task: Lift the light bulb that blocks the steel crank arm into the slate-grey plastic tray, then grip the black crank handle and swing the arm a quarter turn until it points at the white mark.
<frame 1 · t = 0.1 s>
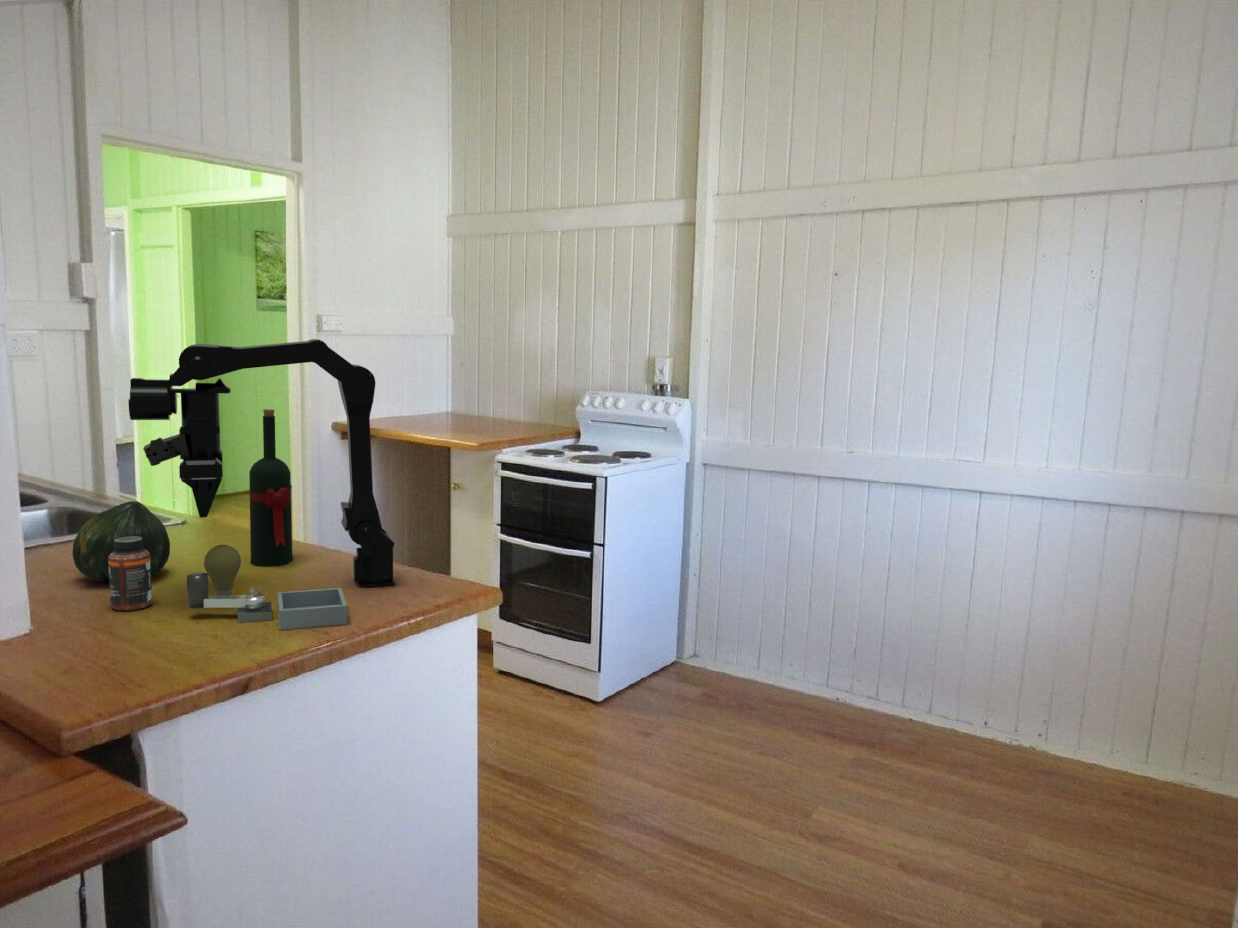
hand: (203, 511, 147), 15 cm above the counter, tool pointing down, fingers open, 9 cm apart
crank: (226, 590, 138), point 4 cm above the counter, hinge at -15.0°
supplement bottle: (131, 607, 142), on the counter
tray: (312, 616, 140), on the counter
squash: (125, 578, 157), on the counter
wine bottle: (273, 563, 171), on the counter
light bulb: (223, 604, 145), on the counter
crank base: (254, 616, 140), on the counter
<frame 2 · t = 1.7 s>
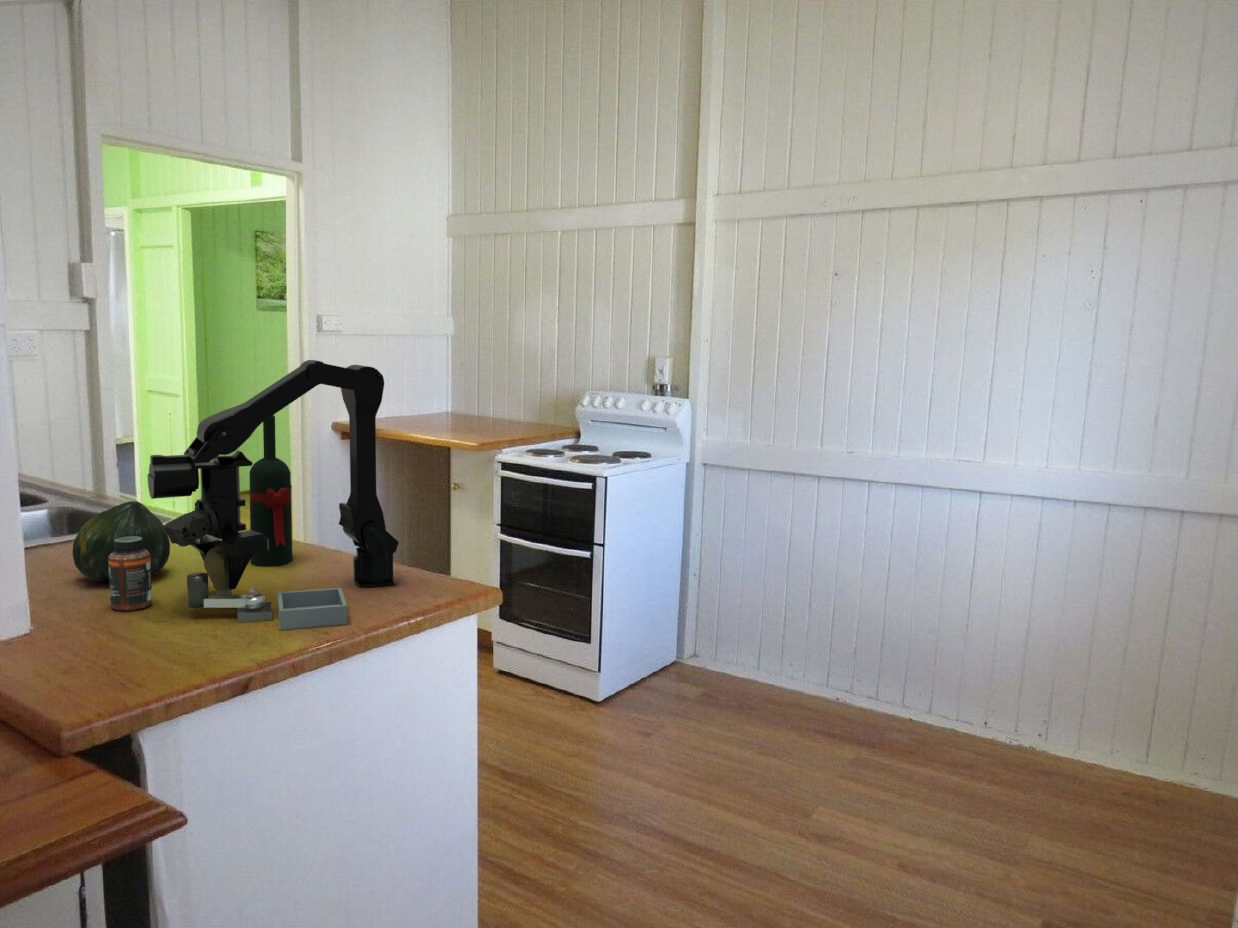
hand: (223, 585, 145), 3 cm above the counter, tool pointing down, fingers closed on light bulb, 5 cm apart
light bulb: (223, 604, 145), on the counter, touching gripper
everything else where it was.
when the fingers open (4 cm above the counter, at t = 6.4 s): light bulb drops 1 cm, resting on tray.
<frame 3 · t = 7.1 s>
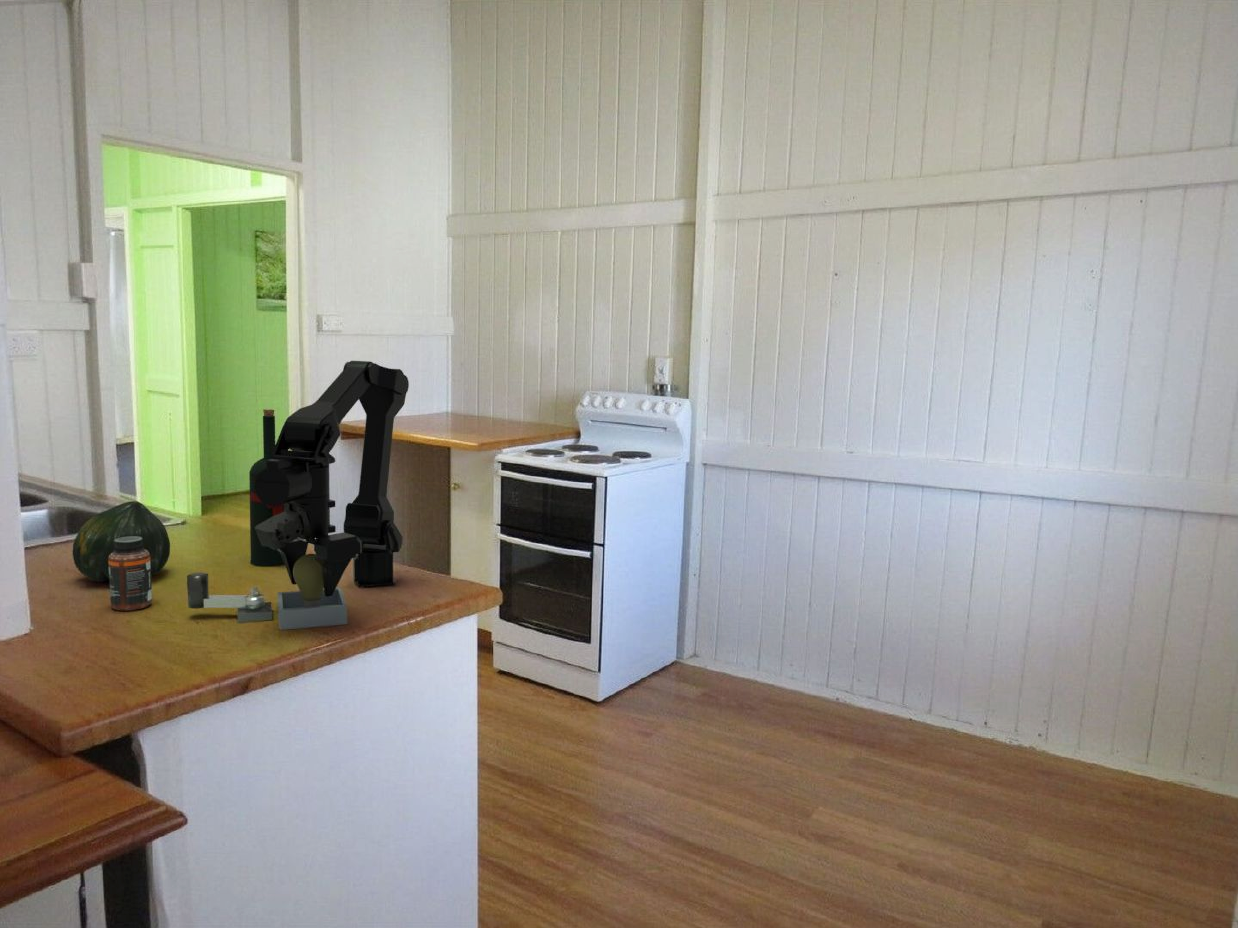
hand: (311, 589, 140), 4 cm above the counter, tool pointing down, fingers open, 9 cm apart
light bulb: (312, 615, 140), resting on tray
everything else where it was.
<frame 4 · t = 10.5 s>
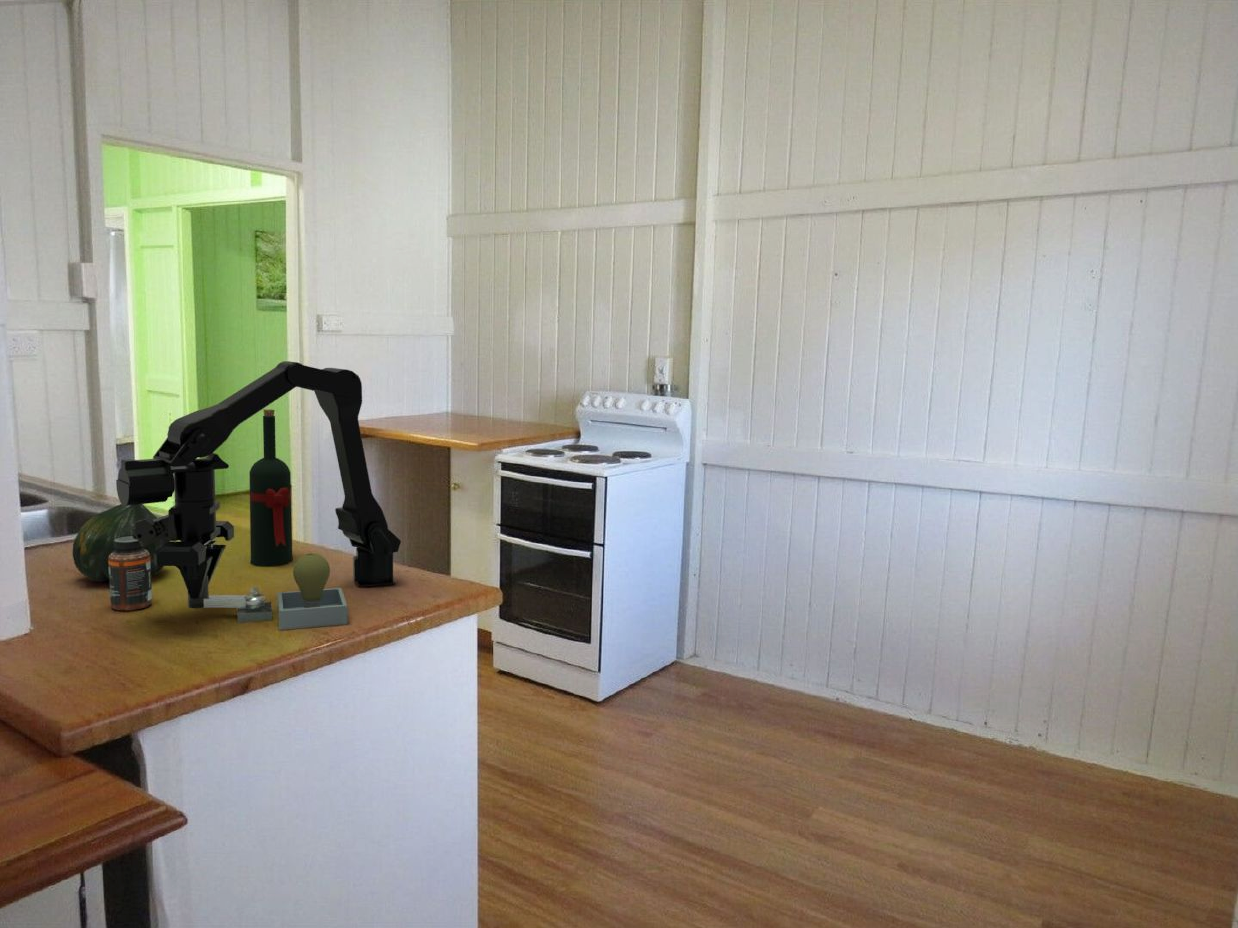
hand: (198, 595, 138), 4 cm above the counter, tool pointing down, fingers closed on crank, 3 cm apart
crank: (226, 590, 138), point 4 cm above the counter, hinge at -15.0°, touching gripper
everything else where it was.
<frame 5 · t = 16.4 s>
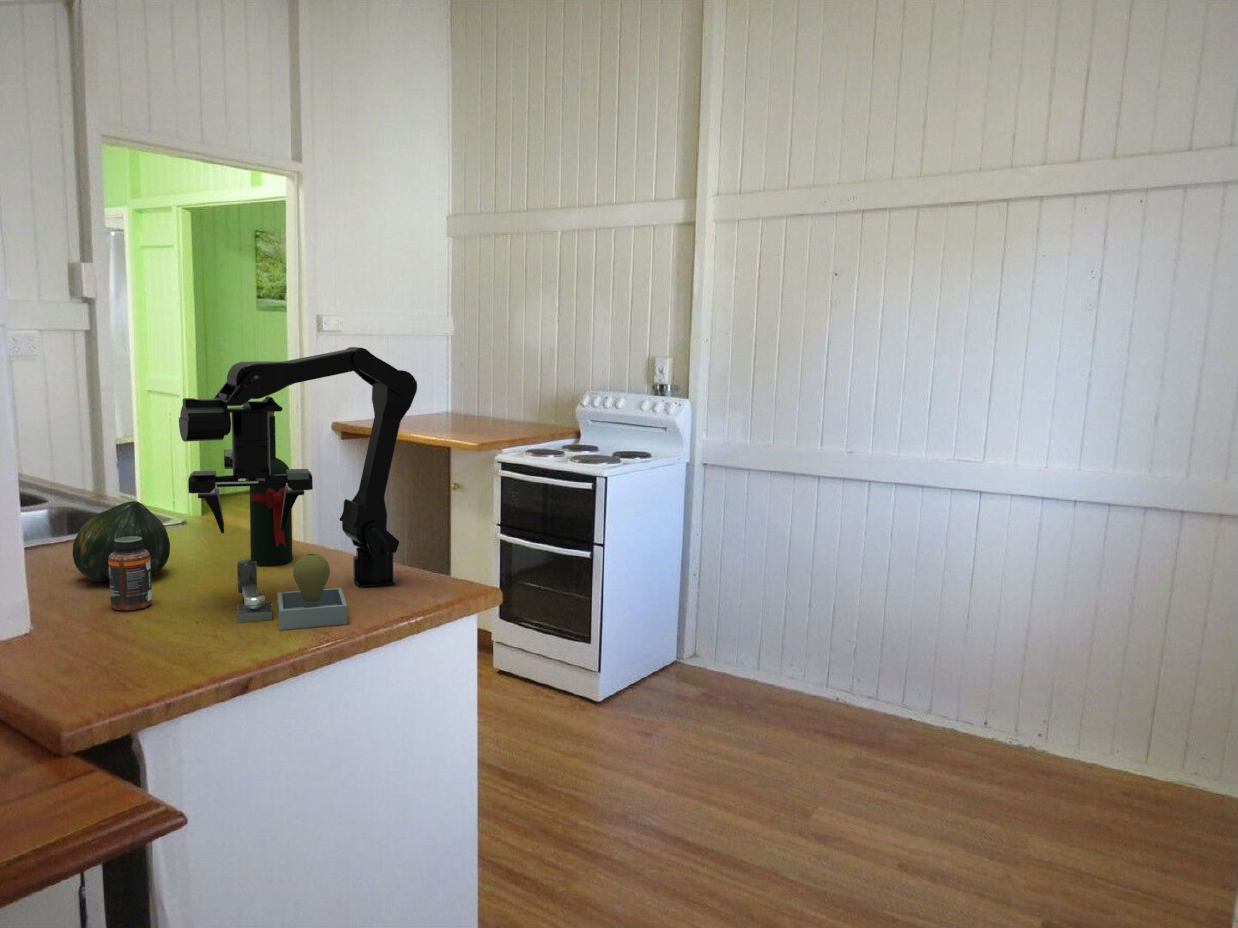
hand: (253, 531, 145), 12 cm above the counter, tool pointing down, fingers open, 9 cm apart
crank: (250, 583, 143), point 4 cm above the counter, hinge at -82.9°
everything else where it was.
at the end: crank at -83° (first picture: -15°); light bulb inside the target area on the tray (0.1 cm from its centre), point 0.2 cm above the tray's base; the gripper is holding nothing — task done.
